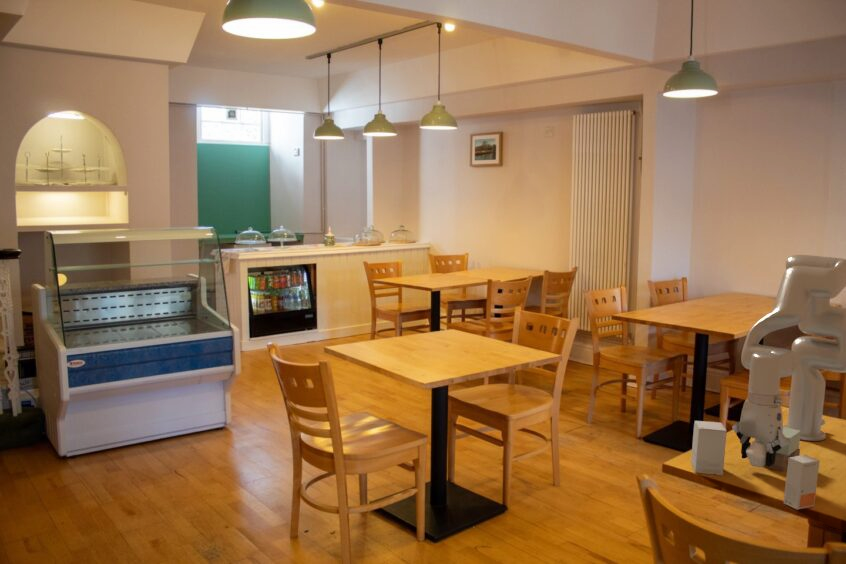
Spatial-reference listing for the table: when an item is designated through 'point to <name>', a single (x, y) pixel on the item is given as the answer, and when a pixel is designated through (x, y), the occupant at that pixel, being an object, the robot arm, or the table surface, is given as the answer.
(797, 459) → the skincare box
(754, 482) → the table surface
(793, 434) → the top block
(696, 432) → the supplement box
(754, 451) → the muffin
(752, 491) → the table surface
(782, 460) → the bottom block
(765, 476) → the table surface
